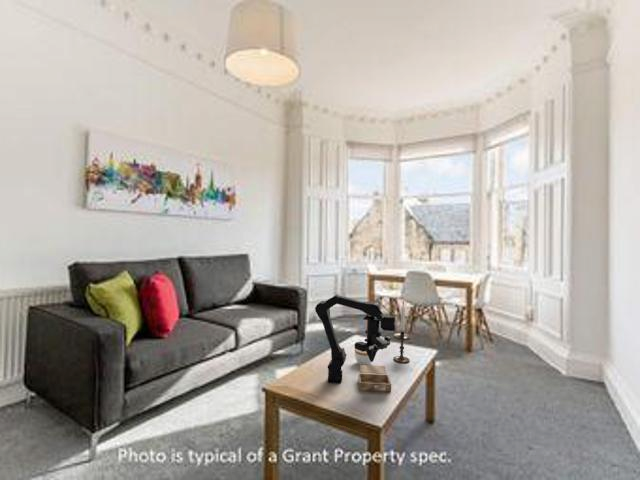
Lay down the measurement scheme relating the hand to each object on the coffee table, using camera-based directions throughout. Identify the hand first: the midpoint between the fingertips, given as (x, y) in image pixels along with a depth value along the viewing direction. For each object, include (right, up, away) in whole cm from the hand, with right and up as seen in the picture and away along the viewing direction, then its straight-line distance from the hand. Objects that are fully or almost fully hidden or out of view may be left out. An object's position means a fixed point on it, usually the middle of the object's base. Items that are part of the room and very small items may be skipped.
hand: (371, 361), depth 168 cm
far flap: (+2, -6, +7) cm, 10 cm away
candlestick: (+22, -11, +34) cm, 42 cm away
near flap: (+1, -7, -9) cm, 11 cm away
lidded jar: (0, -11, +27) cm, 29 cm away
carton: (+1, -11, -1) cm, 11 cm away
